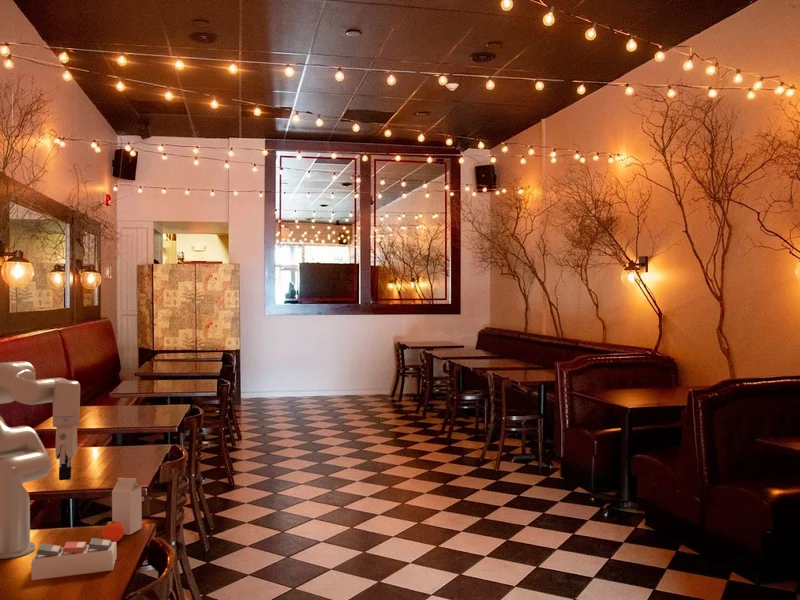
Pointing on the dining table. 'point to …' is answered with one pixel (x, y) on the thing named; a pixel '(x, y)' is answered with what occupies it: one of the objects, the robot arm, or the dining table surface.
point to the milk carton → (127, 505)
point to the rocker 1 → (49, 550)
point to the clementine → (113, 531)
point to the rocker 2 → (99, 544)
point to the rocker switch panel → (73, 563)
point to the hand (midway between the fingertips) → (64, 479)
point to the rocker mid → (74, 547)
